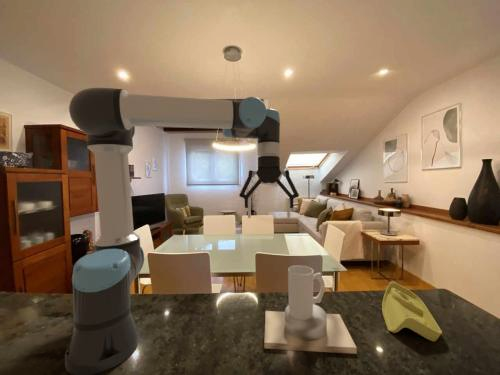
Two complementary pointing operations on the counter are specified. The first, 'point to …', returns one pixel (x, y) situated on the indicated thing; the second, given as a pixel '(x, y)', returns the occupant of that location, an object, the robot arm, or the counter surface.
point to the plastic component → (408, 312)
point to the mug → (303, 291)
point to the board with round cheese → (307, 332)
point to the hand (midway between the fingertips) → (268, 217)
